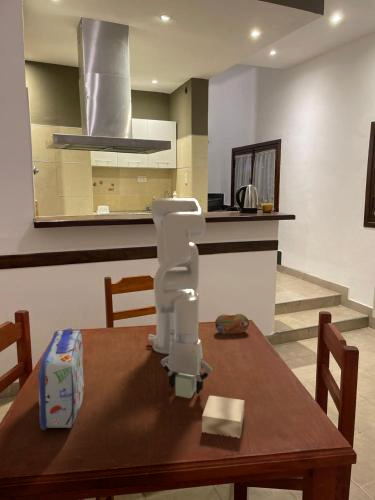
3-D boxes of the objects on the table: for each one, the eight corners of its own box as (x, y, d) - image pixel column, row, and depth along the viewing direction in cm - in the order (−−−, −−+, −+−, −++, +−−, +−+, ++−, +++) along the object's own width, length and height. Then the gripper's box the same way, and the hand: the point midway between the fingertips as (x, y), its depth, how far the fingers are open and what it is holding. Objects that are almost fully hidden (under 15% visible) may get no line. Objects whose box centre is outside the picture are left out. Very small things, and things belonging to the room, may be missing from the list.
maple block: (202, 433, 98) (202, 415, 97) (209, 411, 108) (209, 395, 107) (240, 439, 96) (240, 421, 95) (243, 416, 105) (244, 400, 105)
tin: (215, 334, 164) (215, 316, 163) (214, 331, 167) (214, 313, 166) (248, 333, 166) (249, 314, 164) (246, 330, 169) (247, 312, 168)
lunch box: (52, 385, 121) (49, 320, 117) (85, 382, 123) (83, 318, 119) (36, 441, 94) (31, 359, 90) (79, 436, 96) (75, 356, 92)
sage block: (175, 395, 115) (175, 377, 114) (181, 387, 120) (181, 370, 119) (190, 398, 114) (190, 380, 113) (195, 390, 118) (196, 372, 118)
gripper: (155, 336, 113) (155, 389, 116) (210, 344, 107) (209, 400, 110) (164, 327, 120) (165, 378, 123) (217, 335, 114) (215, 388, 117)
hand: (185, 388), depth 117 cm, fingers open, 8 cm apart
